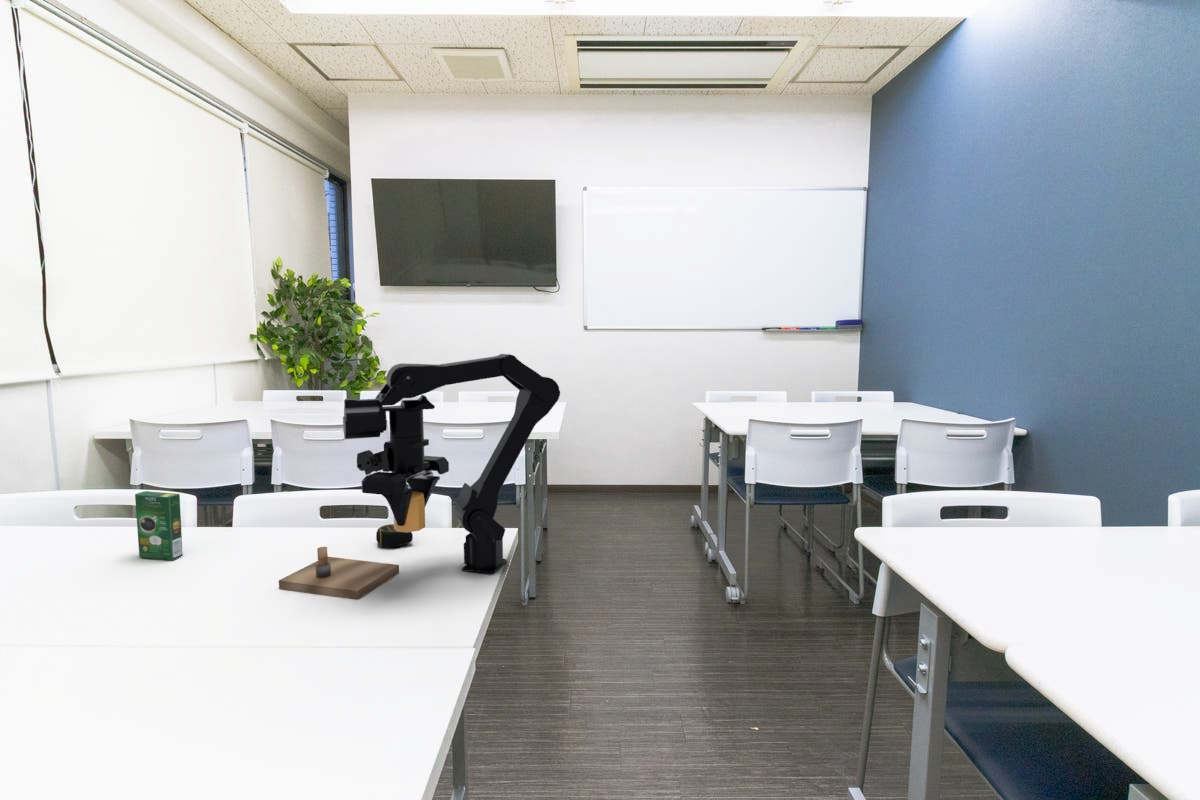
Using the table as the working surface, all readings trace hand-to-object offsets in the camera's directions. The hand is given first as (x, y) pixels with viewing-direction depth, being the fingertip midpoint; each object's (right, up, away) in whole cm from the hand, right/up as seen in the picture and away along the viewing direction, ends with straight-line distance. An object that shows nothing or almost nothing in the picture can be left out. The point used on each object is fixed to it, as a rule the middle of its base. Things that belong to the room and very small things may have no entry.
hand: (409, 521), depth 111 cm
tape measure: (-9, -9, +20) cm, 24 cm away
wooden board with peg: (-13, -11, +1) cm, 17 cm away
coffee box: (-53, -10, +12) cm, 55 cm away
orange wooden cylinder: (0, -1, 0) cm, 1 cm away
